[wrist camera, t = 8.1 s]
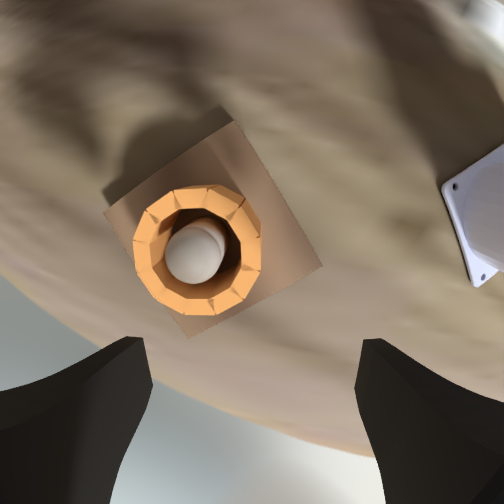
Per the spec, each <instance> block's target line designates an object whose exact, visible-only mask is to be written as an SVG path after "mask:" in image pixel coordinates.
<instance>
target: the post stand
mask: <svg viewBox="0 0 504 504" xmlns="http://www.w3.org/2000/svg"><path fill="white" fill-rule="evenodd" d="M218 184H219V185H222V186H224V187H226V188H228V189H230V190H232V191H234V192H235V193H237V194H239V195H241V196H243V197H245V198H244V200H245V199H247V201H248V202H249V204H250V206H251V207H252V209H253V210H254V212H255V214H256V215H257V217H258V219H259V220H260V224H261V245H262V253H261V270H260V274H259V276H258V277H257V279H256V281H255V282H254V284H253V286H252V288H251V289H250V291H249V293H248V294H247V296H246V298H245V299H243V301H242V302H240V303H238V304H236V305H234V306H232V307H231V308H229V309H227V310H225V311H223V312H221V313H219V314H218V315H216V313H215V315H185V313H183V314H181V313H179V312H177V311H176V310H174V309H172V308H170V307H168V306H166V305H164V304H163V303H162V304H163V305H164V307H165V308H166V309H167V311H168V312H169V314H170V315H171V316H172V318H173V319H174V320H175V322H176V323H177V324H178V326H179V327H180V328H181V330H182V331H183V332H184V334H185V335H186V336H187V338H188V339H189V338H191V337H193V336H195V335H197V334H199V333H201V332H203V331H205V330H207V329H208V328H210V327H212V326H214V325H216V324H218V323H220V322H222V321H224V320H226V319H228V318H230V317H231V316H233V315H235V314H237V313H239V312H241V311H243V310H245V309H246V308H248V307H250V306H252V305H254V304H256V303H258V302H259V301H261V300H263V299H265V298H267V297H269V296H270V295H272V294H274V293H276V292H278V291H279V290H281V289H283V288H285V287H287V286H288V285H290V284H292V283H294V282H296V281H297V280H299V279H301V278H303V277H304V276H306V275H308V274H310V273H311V272H313V271H315V270H317V269H318V268H320V267H322V266H323V265H322V263H321V262H320V260H319V258H318V256H317V254H316V253H315V251H314V249H313V247H312V246H311V244H310V242H309V240H308V239H307V237H306V235H305V233H304V232H303V230H302V228H301V226H300V225H299V223H298V221H297V220H296V218H295V216H294V214H293V213H292V211H291V209H290V208H289V206H288V204H287V203H286V201H285V199H284V198H283V196H282V194H281V193H280V191H279V189H278V188H277V186H276V184H275V183H274V181H273V179H272V178H271V176H270V175H269V173H268V171H267V170H266V168H265V166H264V165H263V163H262V162H261V160H260V158H259V157H258V155H257V154H256V152H255V150H254V149H253V147H252V146H251V144H250V143H249V141H248V139H247V138H246V136H245V135H244V133H243V132H242V130H241V129H240V127H239V125H238V124H237V122H236V121H235V120H234V121H232V122H230V123H229V124H227V125H226V126H224V127H222V128H221V129H219V130H218V131H216V132H214V133H213V134H211V135H210V136H208V137H207V138H205V139H203V140H202V141H200V142H199V143H197V144H196V145H194V146H193V147H191V148H190V149H188V150H187V151H185V152H184V153H182V154H181V155H179V156H178V157H177V158H175V159H174V160H172V161H171V162H169V163H168V164H167V165H165V166H164V167H162V168H161V169H160V170H158V171H157V172H155V173H154V174H153V175H151V176H150V177H149V178H147V179H146V180H144V181H143V182H142V183H140V184H139V185H138V186H136V187H135V188H134V189H133V190H131V191H130V192H129V193H127V194H126V195H125V196H124V197H122V198H121V199H120V200H118V201H117V202H116V203H115V204H113V205H112V206H111V207H110V208H108V209H107V210H106V211H105V212H104V213H103V214H104V216H105V217H106V219H107V221H108V222H109V224H110V225H111V227H112V229H113V230H114V232H115V234H116V235H117V237H118V238H119V240H120V242H121V243H122V245H123V246H124V248H125V249H126V251H127V252H128V254H129V256H130V257H131V259H132V260H133V262H134V263H135V258H134V250H133V240H134V239H133V237H134V235H135V232H136V230H137V227H138V225H139V223H140V220H141V218H142V216H143V213H144V211H145V210H146V209H147V208H148V207H149V206H151V205H152V204H154V203H155V202H156V201H158V200H159V199H161V198H162V197H163V196H165V195H166V194H168V193H169V192H171V191H173V190H176V189H180V188H185V187H189V186H197V185H218ZM244 200H243V201H244ZM240 258H241V242H240V240H239V238H238V237H237V235H236V234H235V232H234V231H233V229H232V227H231V226H230V224H229V223H228V221H227V220H226V219H224V218H222V217H220V216H218V215H216V214H214V213H213V212H211V211H209V210H207V209H205V208H188V209H183V210H182V211H180V213H179V215H178V217H177V219H176V221H175V223H174V225H173V227H172V237H171V239H170V240H169V242H168V244H167V247H166V251H165V260H166V264H167V267H168V269H169V270H170V272H171V273H172V274H173V275H174V276H175V277H176V278H177V279H179V280H180V281H182V282H185V283H189V284H197V283H202V282H204V281H206V280H208V279H209V278H211V277H212V276H213V275H214V274H221V273H223V272H224V271H226V270H228V269H229V268H231V267H233V266H235V265H236V264H237V263H238V261H239V259H240Z"/></svg>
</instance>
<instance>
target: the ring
mask: <svg viewBox="0 0 504 504" xmlns="http://www.w3.org/2000/svg"><path fill="white" fill-rule="evenodd" d="M244 198H245V197H243V196H241V195H239V194H237V193H235V192H234V191H232V190H230V189H228V188H226V187H224V186H222V185H219V184H218V185H197V186H189V187H185V188H180V189H176V190H173V191H171V192H169V193H168V194H166V195H165V196H163V197H162V198H161V199H159V200H158V201H156V202H155V203H154V204H152V205H151V206H149V207H148V208H147V209H146V210H145V211H144V213H143V216H142V218H141V220H140V223H139V225H138V227H137V230H136V232H135V235H134V237H133V239H134V240H133V250H134V258H135V266H136V271H139V272H138V273H137V274H138V276H139V277H140V279H141V280H142V281H143V283H144V284H145V286H146V287H147V289H148V290H149V292H150V293H151V294H152V296H153V297H154V298H156V297H157V298H156V300H157V301H159V302H161V303H163V304H164V305H166V306H168V307H170V308H172V309H174V310H176V311H177V312H179V313H181V314H183V313H185V315H215V313H216V315H218V314H219V313H221V312H223V311H225V310H227V309H229V308H231V307H232V306H234V305H236V304H238V303H240V302H242V301H243V299H245V298H246V296H247V294H248V293H249V291H250V289H251V288H252V286H253V284H254V282H255V281H256V279H257V277H258V276H259V274H260V270H261V253H262V245H261V224H260V220H259V219H258V217H257V215H256V214H255V212H254V210H253V209H252V207H251V206H250V204H249V202H248V201H247V199H245V200H244ZM243 200H244V201H243ZM188 208H205V209H207V210H209V211H211V212H213V213H214V214H216V215H218V216H220V217H222V218H224V219H226V220H227V221H228V223H229V224H230V226H231V227H232V229H233V231H234V232H235V234H236V235H237V237H238V238H239V240H240V242H241V258H240V259H239V261H238V263H237V264H236V265H235V266H233V267H231V268H229V269H228V270H226V271H224V272H223V273H221V274H214V275H213V276H212V277H211V278H209V279H208V280H206V281H204V282H202V283H197V284H189V283H185V282H182V281H180V280H179V279H177V278H176V277H175V276H174V275H173V274H172V273H171V272H170V270H169V269H168V267H167V264H166V260H165V251H166V247H167V244H168V242H169V240H170V239H171V237H172V227H173V225H174V223H175V221H176V219H177V217H178V215H179V213H180V211H182V210H183V209H188Z"/></svg>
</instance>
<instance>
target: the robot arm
mask: <svg viewBox="0 0 504 504" xmlns="http://www.w3.org/2000/svg"><path fill="white" fill-rule="evenodd" d="M453 184H455V186H456V187H455V190H453ZM441 191H442V194H443V197H444V200H445V202H446V205H447V207H448V210H449V213H450V215H451V218H452V221H453V224H454V227H455V230H456V233H457V236H458V239H459V242H460V245H461V248H462V251H463V255H464V258H465V262H466V265H467V269H468V272H469V276H470V280H471V283H472V285H473V286H475V287H479V286H480V285H482V284H483V283H484V282H485V281H487V280H488V279H489V278H490V277H492V276H493V275H494V274H495V273H496V272H498V271H501V272H503V273H504V144H502V145H501V146H499V147H498V148H496V149H495V150H494V151H492V152H491V153H489V154H488V155H486V156H485V157H483V158H482V159H480V160H479V161H477V162H476V163H474V164H473V165H471V166H470V167H468V168H467V169H465V170H464V171H462V172H461V173H459V174H458V175H456V176H455V177H453V178H452V179H450V180H448V181H447V182H445V183H444V184H443V186H442V190H441ZM482 274H483V276H482V278H481V275H482ZM152 387H153V383H152V379H151V374H150V370H149V365H148V361H147V356H146V351H145V346H144V341H143V338H140V337H129V336H126V337H124V338H122V339H120V340H118V341H116V342H114V343H112V344H110V345H108V346H106V347H105V348H103V349H101V350H99V351H98V352H96V353H94V354H92V355H90V356H89V357H87V358H85V359H83V360H81V361H79V362H77V363H76V364H74V365H72V366H70V367H68V368H66V369H64V370H62V371H60V372H58V373H55V374H53V375H51V376H48V377H46V378H44V379H41V380H38V381H35V382H33V383H30V384H27V385H23V386H19V387H16V388H12V389H8V390H4V391H0V504H109V503H110V499H111V495H112V491H113V487H114V484H115V481H116V477H117V473H118V471H119V467H120V465H121V462H122V460H123V457H124V455H125V453H126V451H127V448H128V446H129V444H130V442H131V440H132V438H133V436H134V433H135V432H136V429H137V427H138V425H139V423H140V421H141V419H142V417H143V414H144V412H145V410H146V407H147V404H148V401H149V398H150V394H151V391H152ZM354 389H355V394H356V399H357V404H358V408H359V413H360V416H361V418H362V421H363V424H364V427H365V430H366V432H367V435H368V438H369V441H370V443H371V446H372V449H373V452H374V455H375V457H376V460H377V463H378V467H379V470H380V473H381V479H382V484H383V489H384V495H385V501H386V504H504V402H500V401H497V400H494V399H491V398H488V397H485V396H482V395H479V394H477V393H474V392H472V391H470V390H467V389H465V388H463V387H461V386H458V385H456V384H454V383H452V382H450V381H449V380H447V379H445V378H443V377H441V376H440V375H438V374H436V373H434V372H433V371H431V370H429V369H428V368H426V367H425V366H423V365H421V364H420V363H418V362H417V361H415V360H414V359H412V358H411V357H409V356H408V355H406V354H405V353H403V352H402V351H400V350H399V349H397V348H396V347H394V346H393V345H391V344H390V343H388V342H386V341H385V340H383V339H381V338H378V339H364V340H363V345H362V351H361V357H360V362H359V368H358V373H357V378H356V383H355V387H354Z"/></svg>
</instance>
